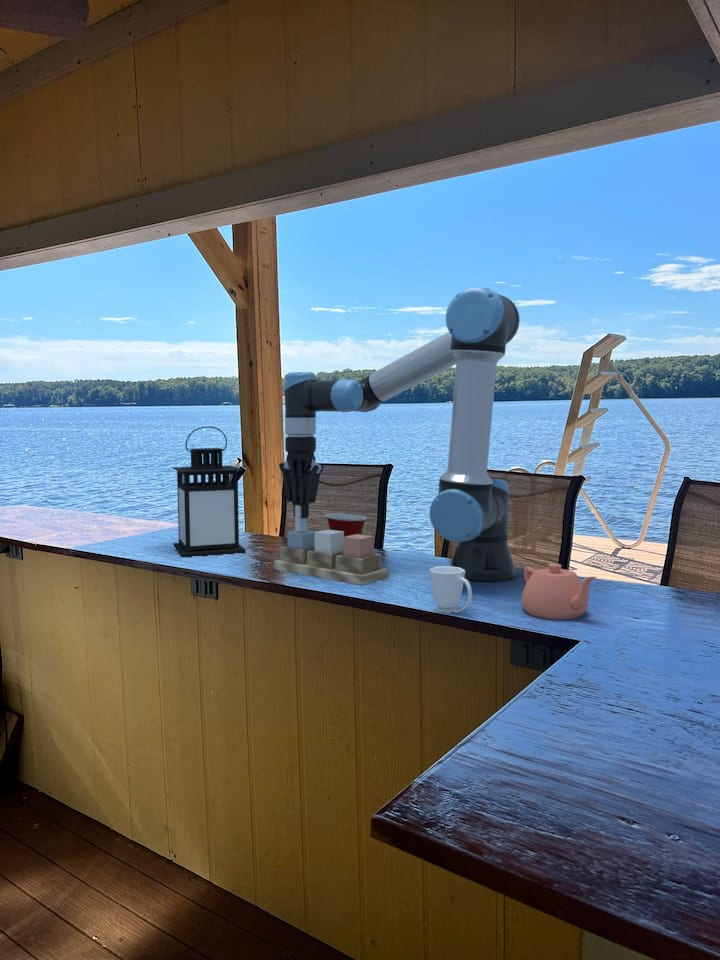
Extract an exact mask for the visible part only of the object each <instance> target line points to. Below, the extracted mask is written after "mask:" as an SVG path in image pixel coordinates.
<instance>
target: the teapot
mask: <svg viewBox="0 0 720 960" xmlns="http://www.w3.org/2000/svg"><path fill="white" fill-rule="evenodd" d="M523 576H524V580H525V584H524V585H525V586H524V588H523V589H522V594H521V601H520V602H521V606H522V607H523V609H524V610H525V612H526V613H527V614H529V615H531V616H534V617H536V618H539V619H545V620H553V619H556V620H555V621H557V620H560V619H564V620H572V619H571V618H573V619H576V617H577V618H579V617H581V616H582V615H583V614H584V613H585V612H586V610H587V609H588V607H589V603H588V601H589V598H590V587H591V583H592V581H594V579H596V578H597V576H586V577H584V578H583V579H582V581H581V580H580V578H579V576H578V574H577V573H576V572H575V571H573V570H568V569H564V568H562V565H561V564H560V563H549V564H548V568H539V569H536V568H534V567H532V566H525V567H524V569H523ZM578 616H579V617H578ZM560 621H561V620H560Z"/></svg>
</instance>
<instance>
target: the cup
mask: <svg viewBox="0 0 720 960" xmlns="http://www.w3.org/2000/svg"><path fill="white" fill-rule="evenodd" d="M428 571H429V578H430V583H431V592H432V596H433V600H434V604H435V605H436V606H437V607H435V611H437V612H438V611H439V612H438V613H442V612H445V613H444V614H450V613H449V612H454V614H459V613H461V612H463V611H465V610H466V609H468V608H469V607H470V606H471V604H472V601H473V592H472V586H471V584H470V581H469V580H466V579H465V578H464V576H465V570H464V569H462V568H460V567H452V566H450V565H442V566H441V565H440V566H435V567H431V568H429V569H428ZM464 585H465V586H466V588H467V589H466V590H467V596H468V597H467V602H466V603H465V605H464V606H463V607H462V608H460V609H459V608H458V606H459V604H460V601H461V599H462V593H463V587H464ZM457 610H458V611H457Z"/></svg>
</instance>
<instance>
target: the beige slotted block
mask: <svg viewBox="0 0 720 960" xmlns="http://www.w3.org/2000/svg"><path fill="white" fill-rule="evenodd" d="M373 554H374V555H373V556H369V557H365V558H361V559H360V558H353V557H347V556H343V551H342V552H337V553H333V554H327V553H321V552H315V547H313V548H308V549H304V550H301V549H294V548H288V545H285V546H280V547H279V555H280V557H279V559H277V560H273V564H272V565H273V570H276V571H282V572H287V573H292V574H299V575H303V576H310V577H314V578H321V579H325V580H331V581H336V582H343V583H348V584H352V585H353V584H354V585H359V586H364V585H367V584H371V583H373V582H377V581H381V580H384V579H387V578H389V568H384V567H382V554H379V553H374V552H373Z"/></svg>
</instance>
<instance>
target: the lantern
mask: <svg viewBox="0 0 720 960" xmlns="http://www.w3.org/2000/svg"><path fill="white" fill-rule="evenodd" d="M207 428H208V429H214V430H215V429H216V430H218V431H219V432H220V433H222V435H223V438H224V440H225V446H224V447H223V448H220V447H209V448H208V447H205V448H202V447H201V448H199V447H198V448H188V440H189V439H190V437H191V436H192V434H193V433H195V432H196V431H199V430H201V429H207ZM227 446H228V439H227V436H226V435H225V433H224V432H223V430H221V429H220V428H217V427H215V426H202V427H198V428H196V429H194V430H193V431H191V432H190V433H189V434H188V436H187V437H186V441H185V449H186V451H187V452H189V453H190V466H176V467H175V466H173V467H170V468H171V469H173V470H175V471H176V478H177V479H176V480H177V482H176V483H177V484H176V486H177V487H176V488H177V518H178V519H177V523H178V524H177V525H178V526H177V527H178V542H173V543H172V546H173V545H174V547H175V548H176V550H177V551H178V553H179V554H180V555H179V554H178V553H177V554H178V555H179V556H180V557H188V558H193V557H192V556H202V557H209V556H208V555H215V556H224V555H223V554H229V555H235V554H234V553H242V554H246V548H245V547H243V546H241V544H240V533H239V532H240V531H239V530H240V528H239V521H240V520H239V479H238V477H239V473H238V472H239V471H244V469H243V468H239V467H236V466H234V465H223V452H224V451H225V450H226V448H227ZM190 476H192V477H193V479H192V480H193V482H191V477H190ZM199 476H200V481H199ZM206 476H207V478H206ZM214 476H215V477H214ZM206 479H207V480H206ZM214 479H215V480H214ZM176 550H175V551H176ZM177 551H176V552H177Z"/></svg>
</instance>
